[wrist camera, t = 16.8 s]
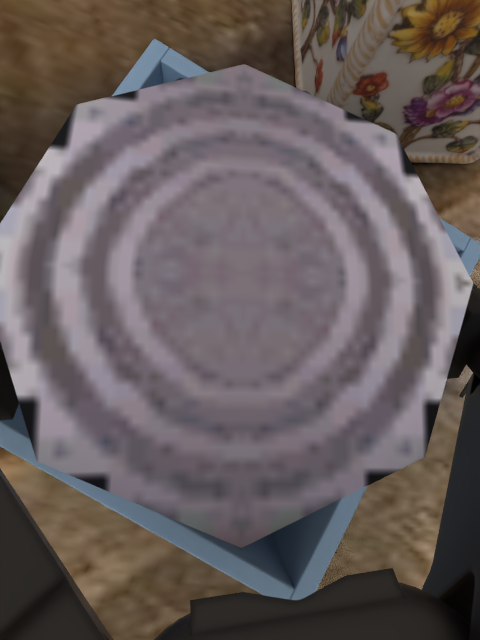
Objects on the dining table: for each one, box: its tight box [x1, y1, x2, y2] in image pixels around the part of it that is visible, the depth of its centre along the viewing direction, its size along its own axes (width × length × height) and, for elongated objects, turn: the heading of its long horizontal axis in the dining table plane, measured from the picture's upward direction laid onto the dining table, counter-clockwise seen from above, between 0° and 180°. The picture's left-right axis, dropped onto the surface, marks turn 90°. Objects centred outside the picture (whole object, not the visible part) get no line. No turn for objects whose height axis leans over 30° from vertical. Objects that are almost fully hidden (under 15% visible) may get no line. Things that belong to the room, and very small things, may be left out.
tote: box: [0, 39, 480, 600], centre depth 18 cm, size 18×18×6 cm
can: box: [0, 64, 473, 548], centre depth 14 cm, size 11×11×12 cm
